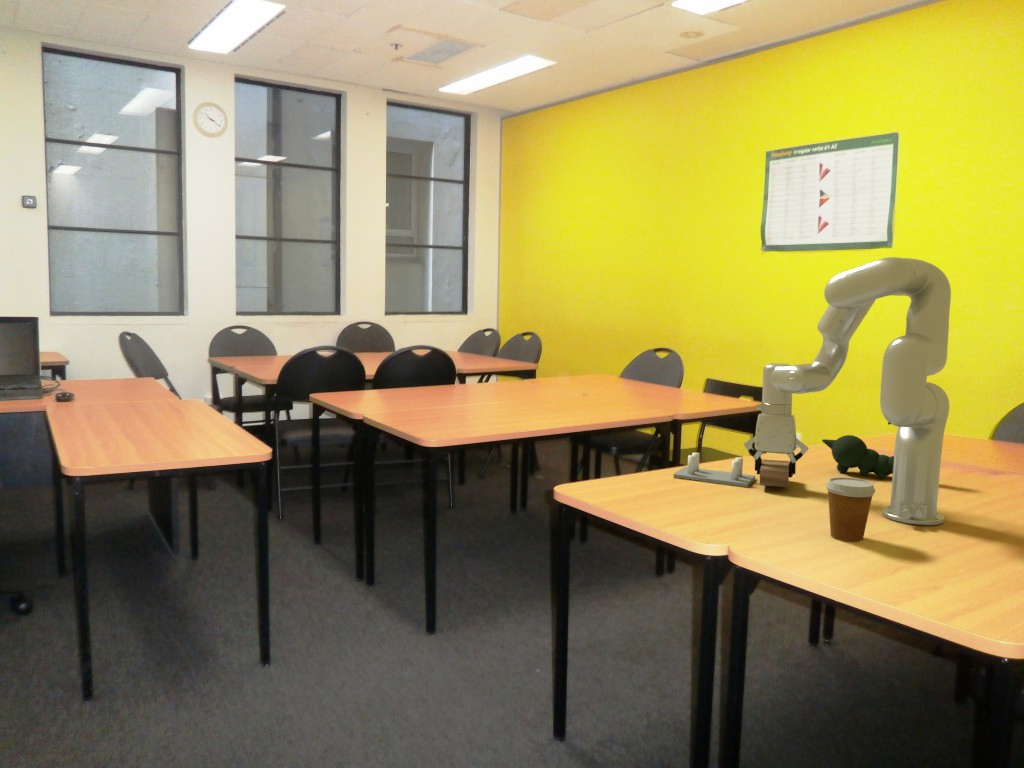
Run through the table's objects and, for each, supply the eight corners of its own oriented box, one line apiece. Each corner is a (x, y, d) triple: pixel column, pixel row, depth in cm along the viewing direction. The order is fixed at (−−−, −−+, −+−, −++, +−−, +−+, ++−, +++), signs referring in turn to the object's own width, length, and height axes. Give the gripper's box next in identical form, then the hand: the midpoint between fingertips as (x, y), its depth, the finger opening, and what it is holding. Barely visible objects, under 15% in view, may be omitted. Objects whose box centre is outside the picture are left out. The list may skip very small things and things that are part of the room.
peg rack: (747, 487, 202) (748, 465, 202) (673, 477, 212) (674, 456, 211) (755, 479, 212) (756, 457, 211) (684, 470, 221) (685, 449, 221)
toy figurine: (912, 483, 217) (820, 464, 230) (924, 419, 214) (830, 403, 227) (909, 490, 209) (814, 470, 222) (922, 423, 206) (825, 406, 219)
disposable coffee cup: (848, 546, 155) (852, 489, 154) (812, 533, 164) (816, 478, 162) (881, 541, 159) (886, 485, 157) (845, 528, 167) (849, 475, 166)
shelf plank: (788, 487, 196) (788, 471, 196) (759, 485, 198) (759, 470, 198) (788, 475, 211) (789, 461, 211) (762, 473, 213) (762, 459, 213)
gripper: (740, 409, 204) (738, 474, 205) (809, 413, 196) (807, 481, 197) (746, 406, 210) (744, 469, 212) (813, 410, 202) (811, 475, 204)
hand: (774, 474), depth 205 cm, fingers closed on shelf plank, 7 cm apart
